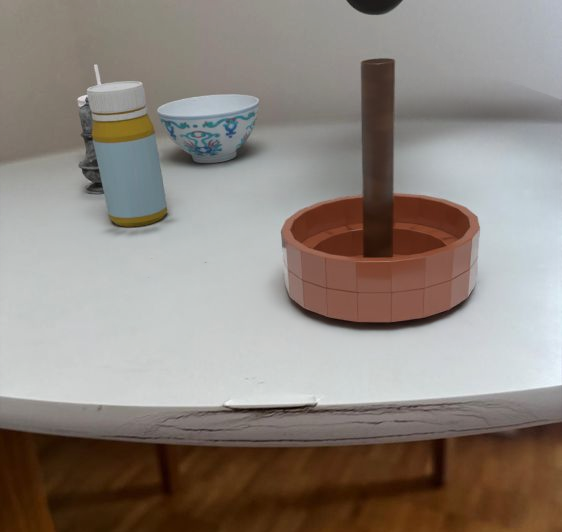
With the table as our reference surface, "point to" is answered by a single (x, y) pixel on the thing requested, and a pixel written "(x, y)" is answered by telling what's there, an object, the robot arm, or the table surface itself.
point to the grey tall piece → (89, 151)
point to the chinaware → (210, 124)
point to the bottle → (127, 154)
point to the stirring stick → (378, 155)
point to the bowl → (381, 259)
